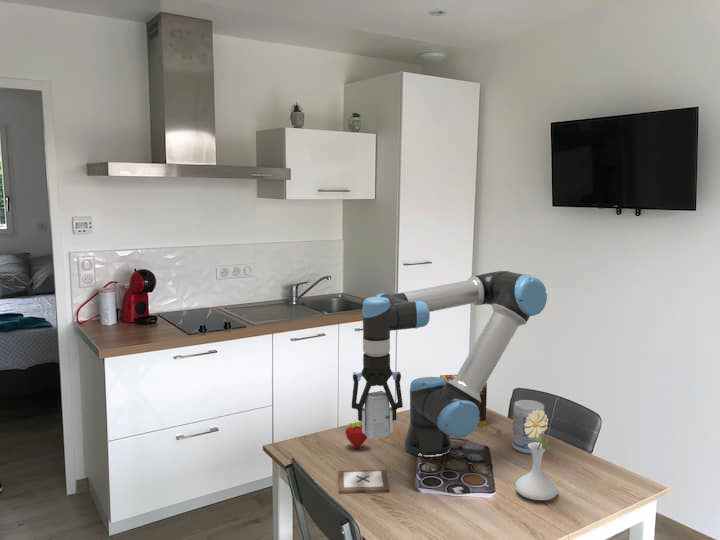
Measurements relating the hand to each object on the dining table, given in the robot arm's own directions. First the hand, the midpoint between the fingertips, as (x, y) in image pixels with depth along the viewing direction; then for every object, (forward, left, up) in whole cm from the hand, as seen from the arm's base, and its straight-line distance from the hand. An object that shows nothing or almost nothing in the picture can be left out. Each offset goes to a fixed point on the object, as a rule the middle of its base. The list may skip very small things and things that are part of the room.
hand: (377, 431), depth 171 cm
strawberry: (+5, -22, -15) cm, 27 cm away
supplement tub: (-50, -19, -15) cm, 56 cm away
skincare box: (0, 0, -1) cm, 1 cm away
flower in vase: (-43, +11, -15) cm, 47 cm away
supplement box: (-34, -44, -15) cm, 58 cm away
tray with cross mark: (+4, +1, -15) cm, 16 cm away
